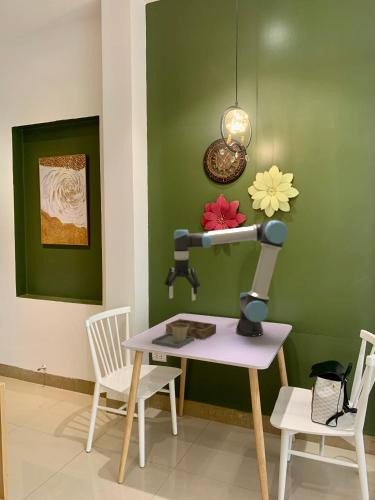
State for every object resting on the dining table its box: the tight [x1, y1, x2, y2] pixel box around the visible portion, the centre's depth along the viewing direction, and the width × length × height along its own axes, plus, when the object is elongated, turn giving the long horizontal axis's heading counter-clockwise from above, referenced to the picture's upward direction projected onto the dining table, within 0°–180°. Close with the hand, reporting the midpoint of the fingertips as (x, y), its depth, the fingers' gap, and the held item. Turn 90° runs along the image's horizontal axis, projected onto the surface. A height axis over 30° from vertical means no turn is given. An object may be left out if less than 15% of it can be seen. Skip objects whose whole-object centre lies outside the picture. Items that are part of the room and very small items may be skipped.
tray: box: [151, 333, 195, 349], centre depth 202 cm, size 16×16×2 cm
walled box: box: [165, 318, 217, 341], centre depth 218 cm, size 24×15×5 cm, turn 60°
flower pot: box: [171, 323, 189, 343], centre depth 200 cm, size 9×9×9 cm
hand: (182, 299), depth 205 cm, fingers open, 13 cm apart
